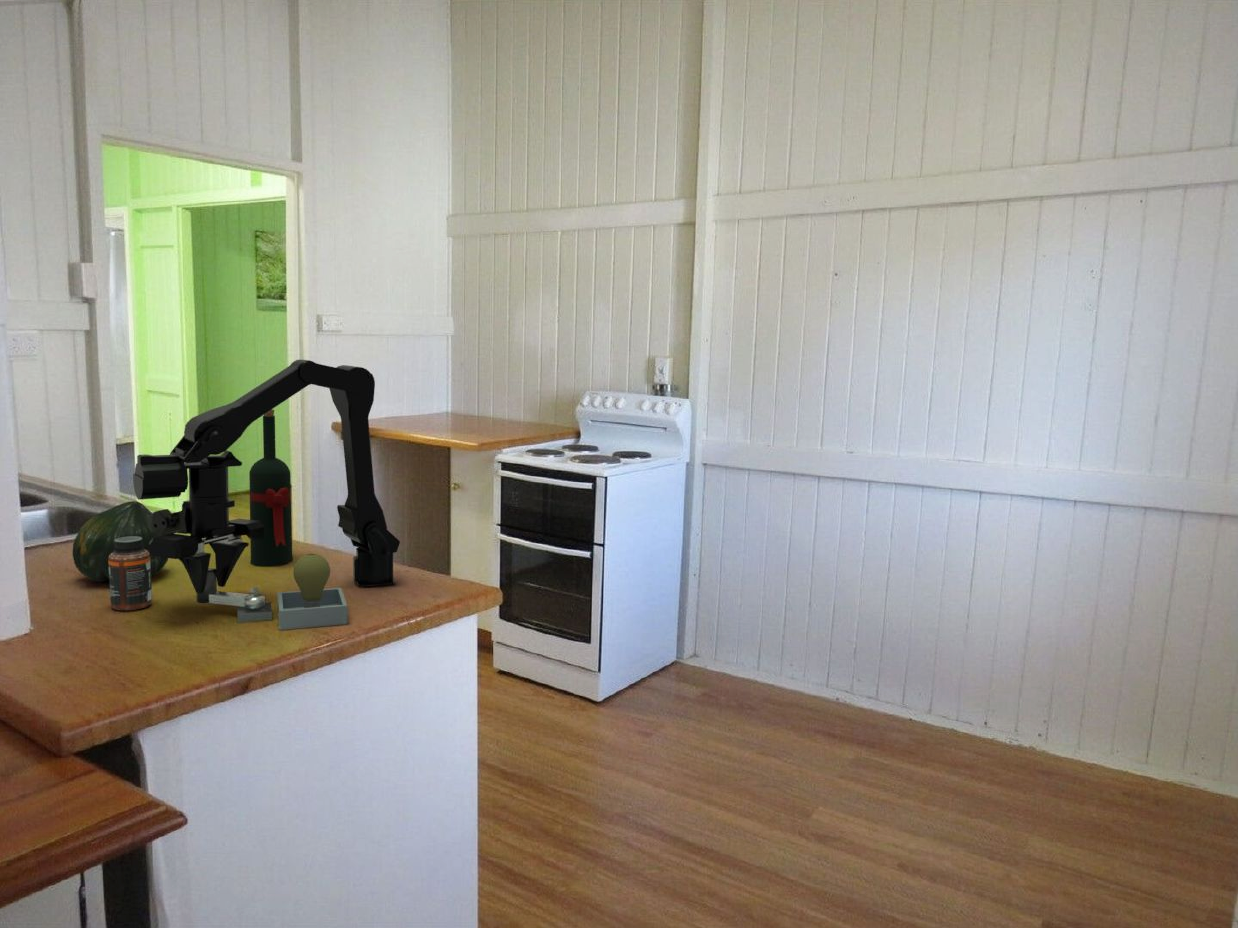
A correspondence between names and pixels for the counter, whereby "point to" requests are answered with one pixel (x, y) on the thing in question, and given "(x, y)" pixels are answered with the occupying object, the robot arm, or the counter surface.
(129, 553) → the supplement bottle
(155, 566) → the squash
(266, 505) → the wine bottle
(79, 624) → the counter surface
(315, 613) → the tray
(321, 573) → the light bulb
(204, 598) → the crank
